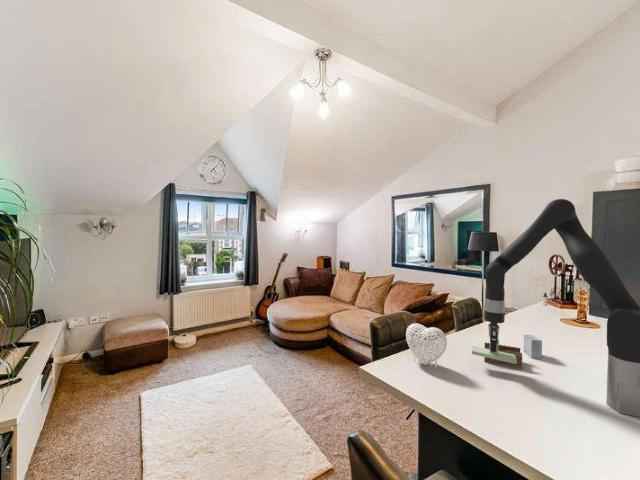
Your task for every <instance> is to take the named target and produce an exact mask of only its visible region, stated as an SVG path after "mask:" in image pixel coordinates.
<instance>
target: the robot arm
mask: <svg viewBox="0 0 640 480" xmlns="http://www.w3.org/2000/svg"><path fill="white" fill-rule="evenodd" d="M576 211H577V210H576V207H575V204H573V202H572V201H570V200H568V199H566V198H565V199H564V198H559V199H558V198H557V199H554V200H552V201H550V202H549V203H548V204H546V206H545V207H544V209H542V211H541V212H540V214H539V215H538V217H537V218H536V219H534V221H533V222H532V223H531V224H530V225H529V227H527V229H525V231H524V232H522V233H521V234H520V235H519V236H518V237H517V238H515V240H514V241H512V242H511V243H510V244H509V245H508V246H507V247H506V248H505V249H504V250H503V251H502V252H501V253H500V254H499V255H498V256H497V257H496V258H494V259H493V260H492V261H491V262H490V263H489V264H487V266H486V268H485V291H484V293H485V294H484V302H483V303H484V305H483V320H484V321H486V322H488V325H487V326H488V327H487V329H488V337H489V343H490V351H491V352H496V346H497V343H498V342H497V338H498V339H499V334H500V333H499V332H500V325H499V324H503V323H505V317H506V314H505V313H506V310H505V309H506V304H505V296H506V295H505V294H506V293H505V279H506V278H505V276H506V273H507V272H508V271H510V269H512V268H513V267H514V266H515V265H517V264H519V263H520V262H521V261H523V259H525V258H526V257H527V256H528V255H529V254H530V253H531V252H532V251H533V250H534V249H535V248H536V246H537V245H538V244H539V243H540V242H541V241H542V240H543V239H544V238H545V237H546V236H547V235H548V234H549V233H550V232H552V231H553V230H555V232H556V233H557V234H558V235H559V237H560V238H561V240H562V242H563V244H564V245H565V249H566V251H567V254H568V256H569V258H570V259H571V261H572V263H573V265H574V267H575V268H576V270H577V272H578V273H579V275H580V276H581V277H582V278H583V280H584V281H585V283H586V284H588V285H589V286H590V287H591V288H592V289H593V290H594V291H595V292H596V293H597V294H598V295H599V296H600V298H601V300H602V301H603V302H604V304H605V306H606V308H607V310H608V311H609V315H608V318H607V321H606V346H607V371H606V373H607V375H606V400H605V401H606V404H607V406H609V408H611V409H613V410H615V411H617V412H618V413H619V414H624V415H628V416H632V417H638V418H640V305H639V304H638V303H637V302H636V300H635V299H634V298H633V296H632V295H631V293H630V292H629V291H628V290H627V288H626V287H625V285H624V282H623V281H622V279H621V277H620V276H619V274H618V272H617V271H616V269H615V267H614V265H613V264H612V262H611V260H610V259H609V258H608V255H606V253H605V252H604V250H603V249H602V248H601V247H600V245H598V243H597V242H596V241H595V240H594V239H593V238H592V237H591V236H590V235H589V234H588V233H587V232H586V230H585V229H584V227H583V225H582V223H581V221H580V219H579V217H578V215H577V213H576ZM492 339H496V340H492Z"/></svg>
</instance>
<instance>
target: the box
mask: <svg viewBox="0 0 640 480" xmlns="http://www.w3.org/2000/svg"><path fill="white" fill-rule="evenodd" d="M484 348H485V349H490V342H487V341H486V342H484ZM498 351H499V352H504V353H509V354H513V355H515V356H516V360H517V364H514V363H509V362H505V361H500V360H496V359H491V358H487V357H483V358H484V363H489V364H493V365H499V366H505V367H510V368H515V369H521V370H522V369H523V352H521V347H516V346H510V345H503V344H499V346H498Z"/></svg>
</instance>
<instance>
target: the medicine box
mask: <svg viewBox="0 0 640 480" xmlns="http://www.w3.org/2000/svg"><path fill="white" fill-rule="evenodd" d="M523 352H524V354H526V355H528V356H529V357H530V358H531V359H538V360H541V359H543V341H542V339H540V338H539V337H537V336H536V335H534V334H524V335H523Z"/></svg>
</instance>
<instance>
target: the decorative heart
mask: <svg viewBox="0 0 640 480" xmlns="http://www.w3.org/2000/svg"><path fill="white" fill-rule="evenodd" d="M405 338H406V339H405V340H406V342H407V345H408V347H409V349H410V351H411V353H412V354H413V362H416V359H417V360H418V361H417V362H418V363H421V364H423V365H424V366H426V365H427V366H428V365H429V364H430V365H429V366H430V367H432V365H433V364H432V363H433V362H435V363H434V364H435V368H436V369H437V367H438V361H437V360H438V359H440V358H441V357H442V356H443V355H444V353H445V351H446V349H447V345H448V344H447V343H448V340H447V337H446V334H445V332H443V330H441V329H440V328H437V327H434V326H433V327H432V326H431V327H427V326H424V324H420V323H418V322H417V323H416V322H414V323H411V324H410V325H409V326H407V328H406V332H405Z"/></svg>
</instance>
